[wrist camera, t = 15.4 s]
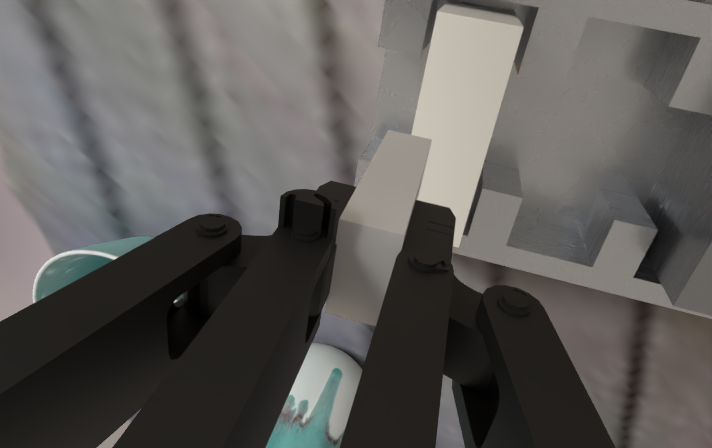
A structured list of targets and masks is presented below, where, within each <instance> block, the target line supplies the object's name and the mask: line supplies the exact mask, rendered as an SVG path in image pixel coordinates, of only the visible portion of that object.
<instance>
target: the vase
mask: <svg viewBox="0 0 712 448" xmlns="http://www.w3.org/2000/svg"><path fill="white" fill-rule="evenodd" d="M362 371H363V370H362V368H361V367H360V366H359V364H358V363H357V362H356V361H355V360H354V359H353V358H351V357H350V356H349V355H348V354H346V353H345V352H343V351H341V350H339V349H337V348H335V347H333V346H330V345H326V344H321V343H312V344H311V346H310V348H309V350H308V353H307V355H306V357H305V359H304V362H303V364H302V366H301V368H300V371H299V373H298V375H297V378H296V380H295V382H294V384H293V387H292V389H291V391H290V393H289V396H288V398H287V400H286V402H285V405H284V407H283V409H282V411H281V414H280V416H279V418H278V421H277V423H276V425H275V427H274V430H273V432H272V434H271V436H270V439H269V441H268V443H267V445H266V448H340V444H341V441H342V438H343V434H344V431H345V428H346V424H347V421H348V417H349V414H350V411H351V407H352V404H353V401H354V397H355V394H356V391H357V387H358V384H359V381H360V377H361V374H362Z"/></svg>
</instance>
